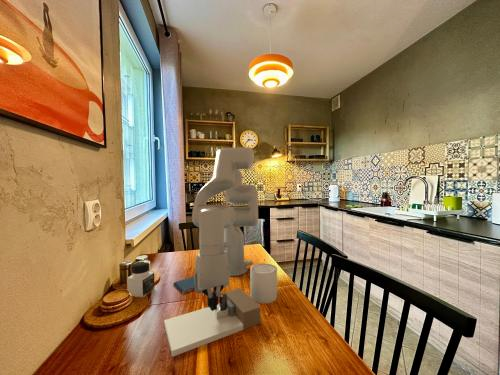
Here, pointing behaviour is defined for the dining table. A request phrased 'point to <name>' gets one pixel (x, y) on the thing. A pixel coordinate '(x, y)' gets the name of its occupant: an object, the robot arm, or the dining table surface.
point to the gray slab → (211, 323)
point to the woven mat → (185, 285)
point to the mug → (263, 283)
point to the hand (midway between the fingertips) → (212, 308)
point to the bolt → (222, 307)
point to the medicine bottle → (140, 280)
